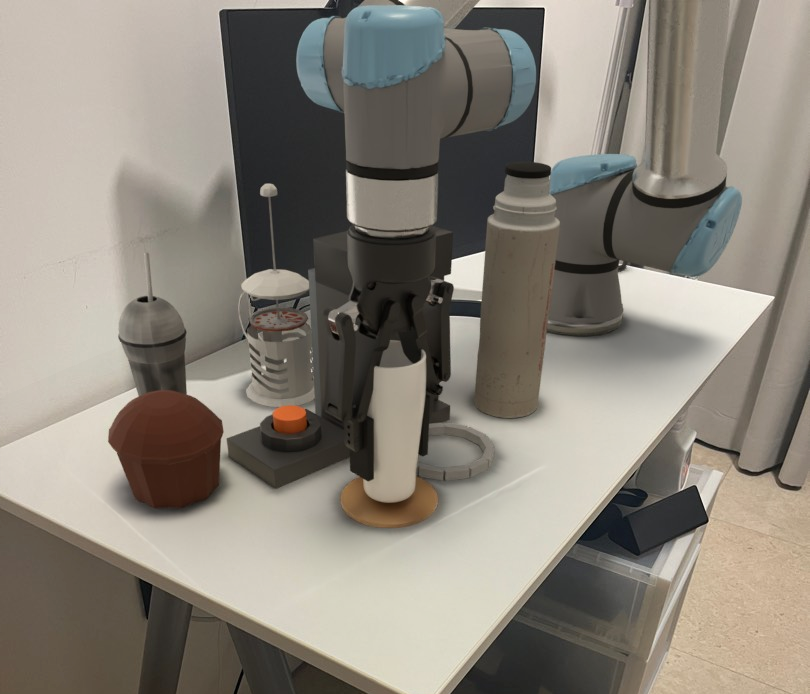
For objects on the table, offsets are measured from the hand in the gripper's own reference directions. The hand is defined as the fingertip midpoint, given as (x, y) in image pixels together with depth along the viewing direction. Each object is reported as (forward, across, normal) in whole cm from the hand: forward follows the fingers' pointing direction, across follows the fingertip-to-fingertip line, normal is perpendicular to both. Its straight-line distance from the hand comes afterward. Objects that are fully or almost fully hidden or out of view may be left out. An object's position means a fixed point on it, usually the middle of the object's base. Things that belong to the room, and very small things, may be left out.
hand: (389, 462), depth 83 cm
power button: (+1, +2, -14) cm, 14 cm away
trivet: (+5, 0, 0) cm, 5 cm away
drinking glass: (+4, 0, 0) cm, 4 cm away
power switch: (+5, +2, -14) cm, 15 cm away
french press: (+5, -7, -29) cm, 30 cm away
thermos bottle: (+5, -26, -7) cm, 27 cm away
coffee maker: (+5, -11, -8) cm, 15 cm away
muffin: (+5, +15, -17) cm, 23 cm away
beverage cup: (+5, +9, -29) cm, 31 cm away
